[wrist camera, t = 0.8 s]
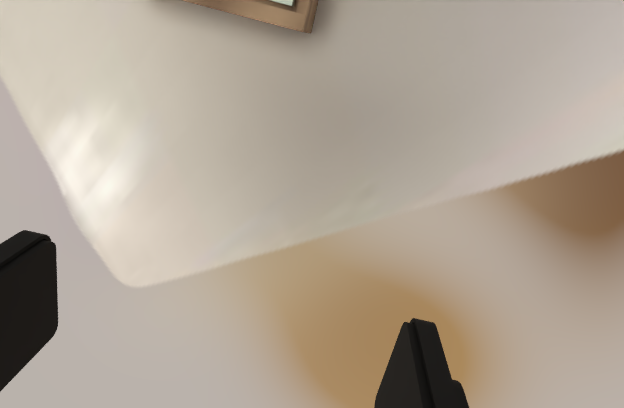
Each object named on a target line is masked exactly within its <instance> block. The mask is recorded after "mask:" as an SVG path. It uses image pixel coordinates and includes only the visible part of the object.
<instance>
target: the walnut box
mask: <svg viewBox="0 0 624 408" xmlns="http://www.w3.org/2000/svg"><path fill="white" fill-rule="evenodd" d="M183 1H187V2H190V3H194V4H198V5H202V6H206V7H209V8H213V9H217V10H221V11H225V12H228V13H232V14H236V15H240V16H244V17H247V18H251V19H255V20H259V21H263V22H266V23H270V24H274V25H278V26H282V27H285V28H289V29H293V30H297V31H301V32H306V33H311V31H312V26H313V22H314V17H315V13H316V8H317V4H318V0H295V3H294V7H292V6H288V5H284V4H280V3H277V2H273V1H269V0H183Z"/></svg>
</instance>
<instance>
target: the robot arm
mask: <svg viewBox="0 0 624 408" xmlns="http://www.w3.org/2000/svg"><path fill="white" fill-rule="evenodd" d="M56 268H57V266H56V245H55V243H53V242H51V239H50V237H49V236H47V235H44V234H40V233H36V232H31V231H26V230H23V231H21V232H19V233H17V234H16V235H14V236H13V237H11V238H9V239H8V240H6V241H4V242H3V243H1V244H0V391H1V390H2V389H3V388H4V387H5V386H6V385H7V384H8V383H9V382H10V381H11V380H12V379H13V378H14V376H16V375H17V374H18V373H19V371H20V370H21V369H22V368H23V367H24V366H25V365H26V364H27V363H28V362H29V361H30V360H31V359H32V358H33V357H34V356H35V355H36V354H37V353H38V352H39V351H40V350H41V349H42V348H43V347H44V345H45V344H46V343H47V342H48V341H49V340H50V339H51V338H52V337H53V336H54V334H55V332H56V330H57V326H58V305H57V304H58V302H57V269H56ZM375 408H469V406H468V403H467V400H466V396H465V393H464V390H463V388H462V386H461V383H459V382H458V381H456V380H452V378H451V375H450V371H449V368H448V365H447V361H446V358H445V355H444V351H443V348H442V344H441V341H440V337H439V334H438V331H437V328H436V325H435V324H434V323H433V322H428V321H424V320H419V319H415V318H413V319H412V320H411V321H410V323H407V322H404V323H403V325H402V327H401V330H400V333H399V335H398V338H397V341H396V343H395V346H394V349H393V352H392V355H391V357H390V360H389V363H388V366H387V368H386V371H385V374H384V376H383V379H382V382H381V385H380V387H379V390H378V393H377V396H376V400H375Z"/></svg>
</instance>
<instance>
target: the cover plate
mask: <svg viewBox="0 0 624 408" xmlns="http://www.w3.org/2000/svg"><path fill="white" fill-rule="evenodd" d="M269 1H273V2H277V3H280V4H284V5H288V6H292V7H294V3H295V0H269Z"/></svg>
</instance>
